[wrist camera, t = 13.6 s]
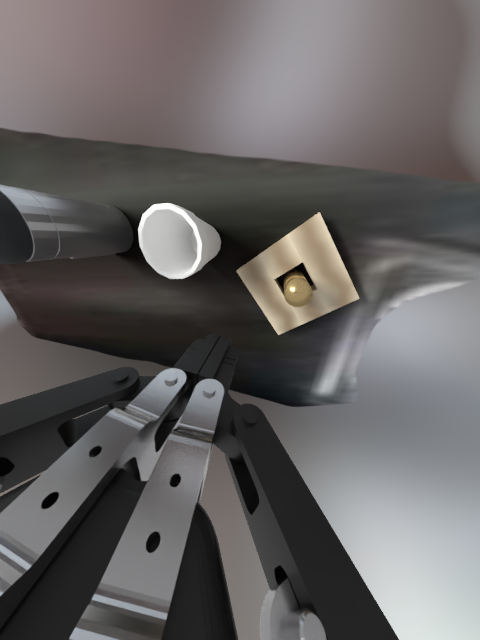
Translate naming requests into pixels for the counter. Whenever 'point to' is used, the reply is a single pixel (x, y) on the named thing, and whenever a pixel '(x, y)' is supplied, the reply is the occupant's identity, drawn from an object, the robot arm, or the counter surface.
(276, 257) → the plate
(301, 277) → the brass cylinder
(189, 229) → the foam cup
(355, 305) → the counter surface
